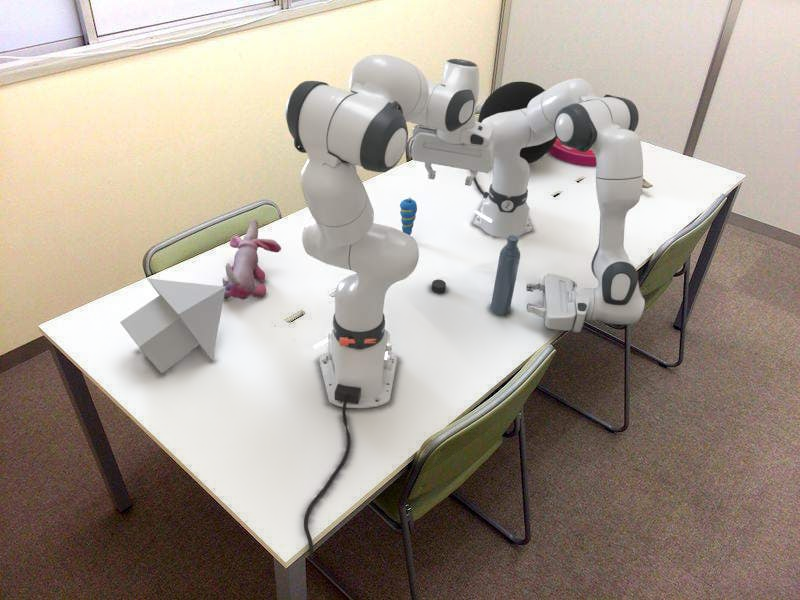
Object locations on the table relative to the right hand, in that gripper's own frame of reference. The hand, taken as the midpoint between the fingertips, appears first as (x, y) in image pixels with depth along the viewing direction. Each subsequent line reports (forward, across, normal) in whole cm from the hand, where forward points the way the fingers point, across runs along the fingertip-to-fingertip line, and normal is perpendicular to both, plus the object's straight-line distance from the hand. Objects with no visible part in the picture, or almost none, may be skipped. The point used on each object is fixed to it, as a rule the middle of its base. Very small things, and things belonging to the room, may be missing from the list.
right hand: (526, 297), depth 175 cm
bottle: (+6, 0, +5) cm, 8 cm away
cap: (+24, -6, +4) cm, 25 cm away
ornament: (+36, -30, +5) cm, 47 cm away
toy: (+78, +2, +5) cm, 78 cm away
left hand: (+24, -6, -28) cm, 38 cm away
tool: (-38, -86, +5) cm, 94 cm away
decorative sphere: (+4, -94, +5) cm, 94 cm away
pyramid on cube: (+82, +31, +5) cm, 88 cm away
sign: (-24, -112, +5) cm, 115 cm away
